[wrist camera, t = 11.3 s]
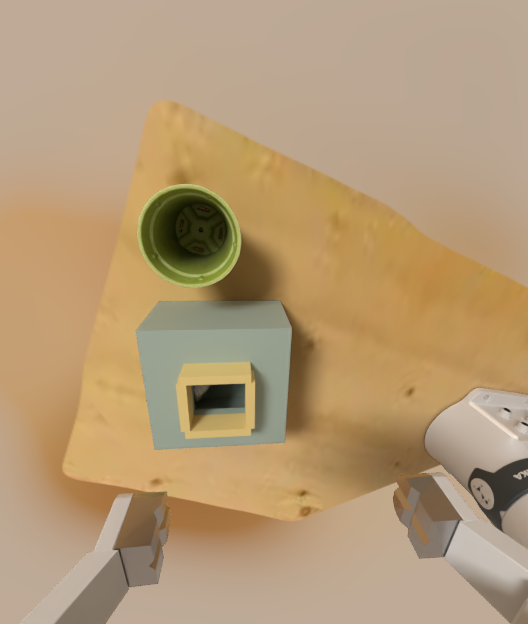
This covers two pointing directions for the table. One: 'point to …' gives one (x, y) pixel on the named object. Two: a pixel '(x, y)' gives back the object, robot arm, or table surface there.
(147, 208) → the plant pot
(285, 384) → the box with square opening
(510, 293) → the table surface
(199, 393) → the cylinder
